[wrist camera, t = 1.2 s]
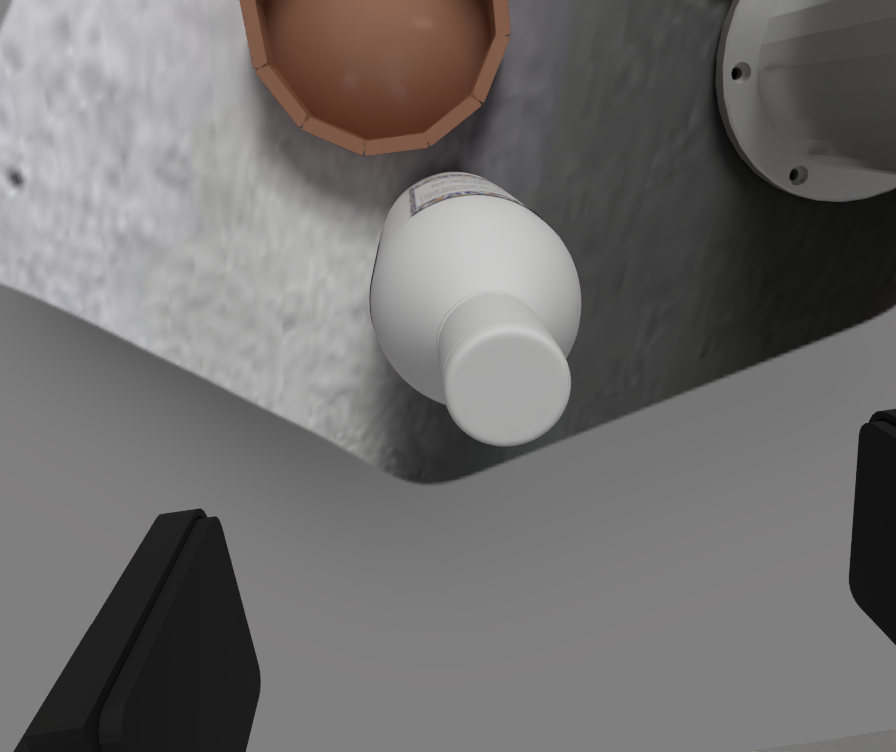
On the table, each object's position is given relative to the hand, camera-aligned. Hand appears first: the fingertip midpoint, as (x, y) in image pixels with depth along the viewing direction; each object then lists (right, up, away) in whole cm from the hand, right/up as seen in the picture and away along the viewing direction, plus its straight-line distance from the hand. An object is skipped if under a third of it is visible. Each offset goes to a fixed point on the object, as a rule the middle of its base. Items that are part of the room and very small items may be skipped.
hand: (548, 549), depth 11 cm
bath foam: (-1, +9, +25) cm, 26 cm away
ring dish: (-4, +18, +21) cm, 28 cm away
